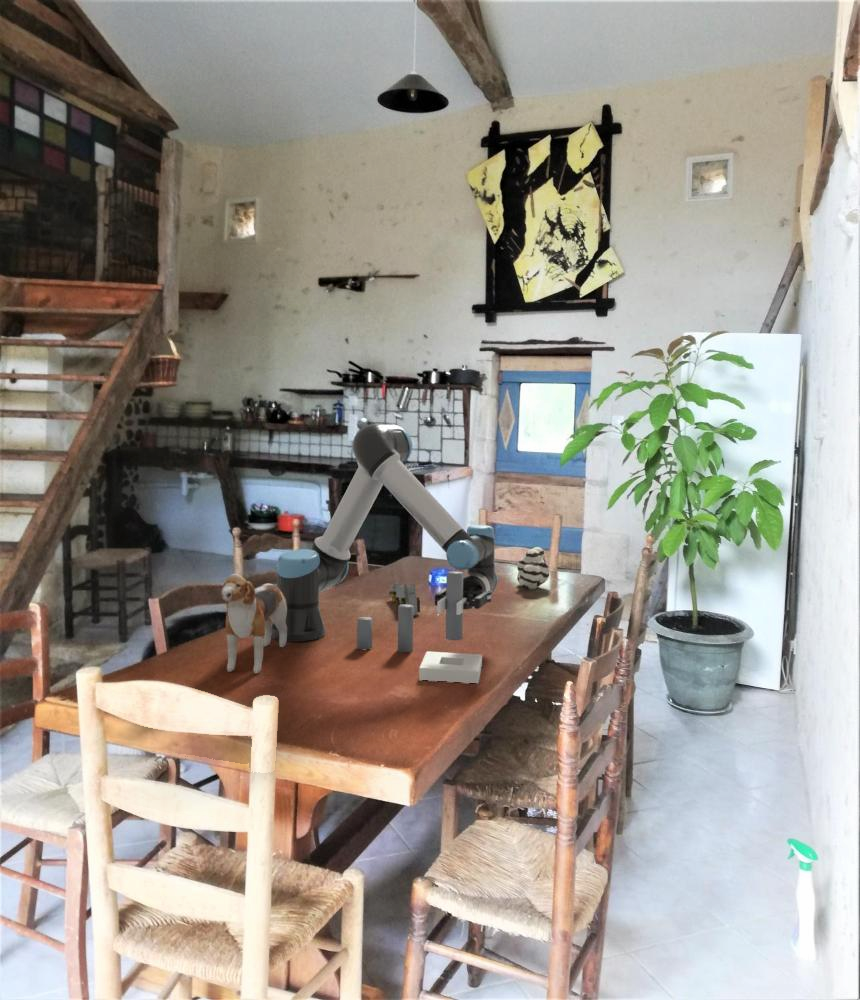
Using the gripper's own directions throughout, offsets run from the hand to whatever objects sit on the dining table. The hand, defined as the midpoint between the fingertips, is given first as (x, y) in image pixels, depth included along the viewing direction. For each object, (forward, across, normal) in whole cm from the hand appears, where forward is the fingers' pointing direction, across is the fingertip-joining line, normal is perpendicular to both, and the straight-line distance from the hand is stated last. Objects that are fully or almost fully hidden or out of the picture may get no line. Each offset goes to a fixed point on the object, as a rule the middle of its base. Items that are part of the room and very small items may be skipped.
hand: (448, 608), depth 189 cm
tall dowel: (-5, 0, -8) cm, 10 cm away
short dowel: (-18, +28, -17) cm, 37 cm away
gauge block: (-5, +1, -17) cm, 18 cm away
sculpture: (-114, -1, -17) cm, 116 cm away
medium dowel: (-20, +17, -17) cm, 31 cm away
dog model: (+4, +48, -17) cm, 51 cm away
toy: (-67, +34, -17) cm, 77 cm away
